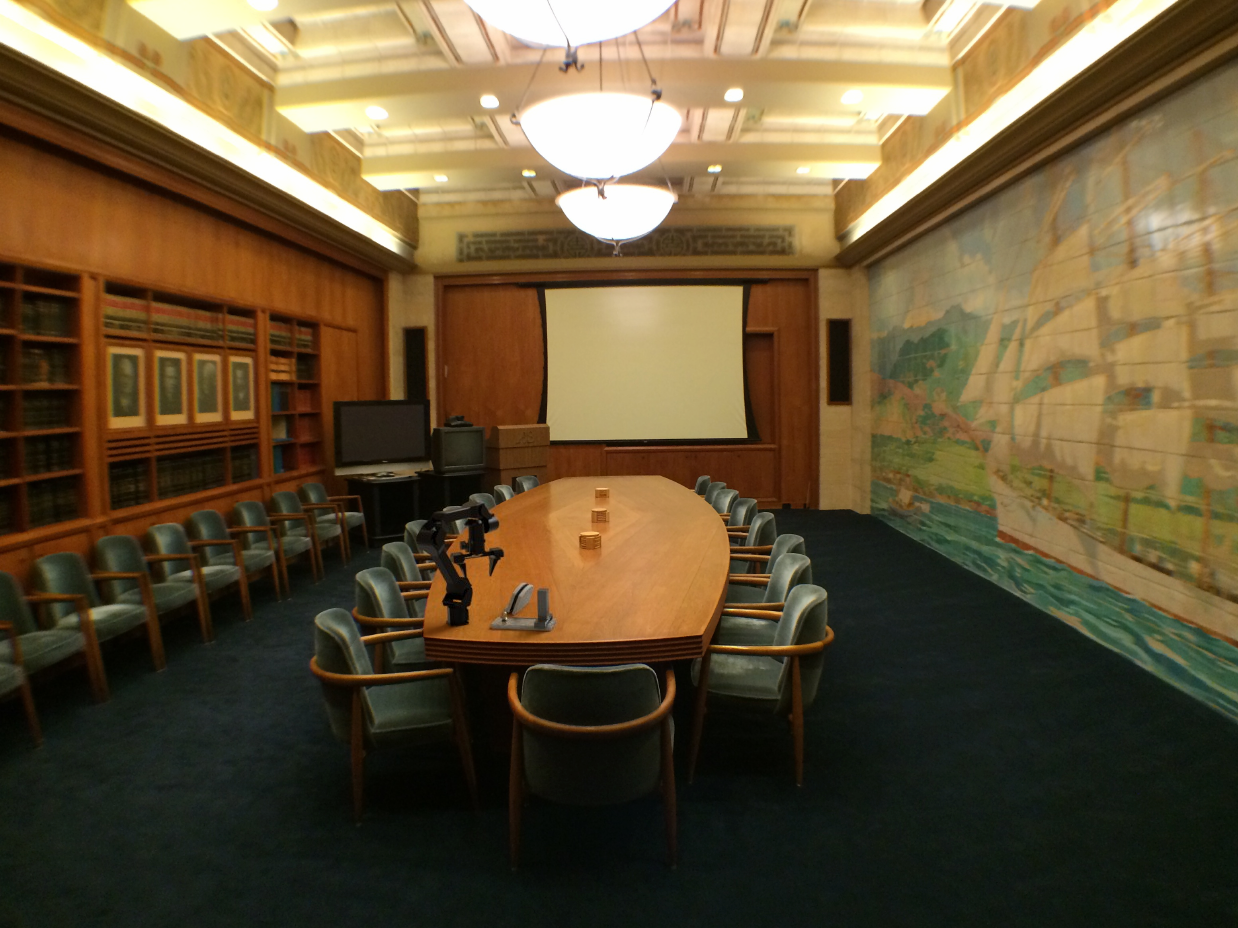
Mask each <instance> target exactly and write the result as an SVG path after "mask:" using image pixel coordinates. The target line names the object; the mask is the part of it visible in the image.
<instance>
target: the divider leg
mask: <svg viewBox="0 0 1238 928" xmlns="http://www.w3.org/2000/svg"><path fill="white" fill-rule="evenodd" d="M549 593H550V592H549V587H548V588H547V587H546V588H545V587H544V588H542V587H539V588H538V589H537V590H536V597H537V598H536V599H537V602H536V603H537V617H536V618H537V619H536V621H535V622H534V628H536V629H546V624H547V622H548V621H549V619H554V614H553V613H550V599H549V597H550V596H549Z"/></svg>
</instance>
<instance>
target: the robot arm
mask: <svg viewBox="0 0 1238 928" xmlns="http://www.w3.org/2000/svg"><path fill="white" fill-rule="evenodd" d="M464 519H467V520H466V521H465V522H464V523H463V526H465V527H467V532H468V533H467V534H468V538H467V541H466V540H461V541H459V550H460V551H458V552H457V551H456V552H451V553H450V554H449V555H448V553H447V552H446V549H445V545H446V541H445V538H446V537H447V535H448V525H449V523H453V522H456V521H460V520H464ZM438 524H440V528H439V529H438V530H434V528H436V527H437V525H438ZM499 528H500V521H499V520H498V518H497V517H496V516H495V513H493V512H490V511H489V510H488V508H487V506H486V503H485V502H481V501H467V502H465V503H463V504H462V506H459V507H456V508H455V507H454V508H451V509H447V510H443V511H435V512H433V514H432V515H431V517H430V518H429V519H428V520H427V521H426V522H424V523H423V524H422V525H421V527H420V529H419V531H418V532H417V534H416V538H415V540H416V542H415V543H416V544H417V546H419V548H420V549H421V550H422V551H423V552H425V553H427V554H428V555H429V556H430V557H431V559H432V561H433V562H434V564H435V566H436V568H437V570H438V571H439V573H440V574H441V576H442V577H443V580H444V582H445V583H446V586H445V594H444V597H443V598H442V601H441V604H442V606H443V607H446V613H447V619H446V621H445V622H446V624H448V625H449V626H450V627H451V628H452V627H459V626H464V625H469V624H470V610H469V608H468V607H470V606H471V605H472V600H473V594H474V591H473V584H472V583H471V582H470V579H469V578H468V573H467V563H466V562H465V561H466V560H470V559H477V558H484V557H488V561H489V563H488V576H489V577H490V578H491V577H492V576H493V573H494V571H495V568H496V566H497V564H498V562H499V561H501V559H502V558H504V557H505V551H504V549H502V548H501V547H499V546H496V547H489V549H488V550H486V539H485V537H486V536H485V534H489V533H492V532H494V531H497V530H498V529H499ZM462 551H465V553H463V552H462ZM454 565H457V566H458V567H459V569H460V571H461V574H462V575H463V576H460V575H459V573H458V570H457V569H456V567H455V566H454Z"/></svg>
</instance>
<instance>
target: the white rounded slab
mask: <svg viewBox="0 0 1238 928" xmlns="http://www.w3.org/2000/svg"><path fill="white" fill-rule="evenodd" d="M534 588H535V587H534V585H533V584H530V583H527V582H522V583H520V584H519V585H518V586H517V587H516V588H515V590H514V591H513V593H512V594H511V596H510V599H509V602H508V605H507V606H506V607H504V608H503V610H502V612H506V613H511V614H512V615H514V616H515V615H517V614H518V613H519V612H520V611H521V610H522V609H523V608H524V607H525V606H526V605H527V604H529V603H530V601H531V598H532V595H533V592H534Z"/></svg>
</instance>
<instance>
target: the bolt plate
mask: <svg viewBox="0 0 1238 928" xmlns="http://www.w3.org/2000/svg"><path fill="white" fill-rule="evenodd" d="M507 614H508V613H507V611H506V612H503V611H502V612H501V616H497V617H496V619H494V620H493V621H492V622H491V624H490V629H494V630H496V629H497V630H518V631H519V630H521V631H522V630H523V631H544V632H549V631H550V632H552V630H553V628H554V627H555V626H556V624H557V618H553V619H549V621H548V622H547V624H546V629H536V628H534V622H535V621H536V619H537V618H538V617H520V616H519V617H518V616H516V617H513V616H507Z"/></svg>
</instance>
